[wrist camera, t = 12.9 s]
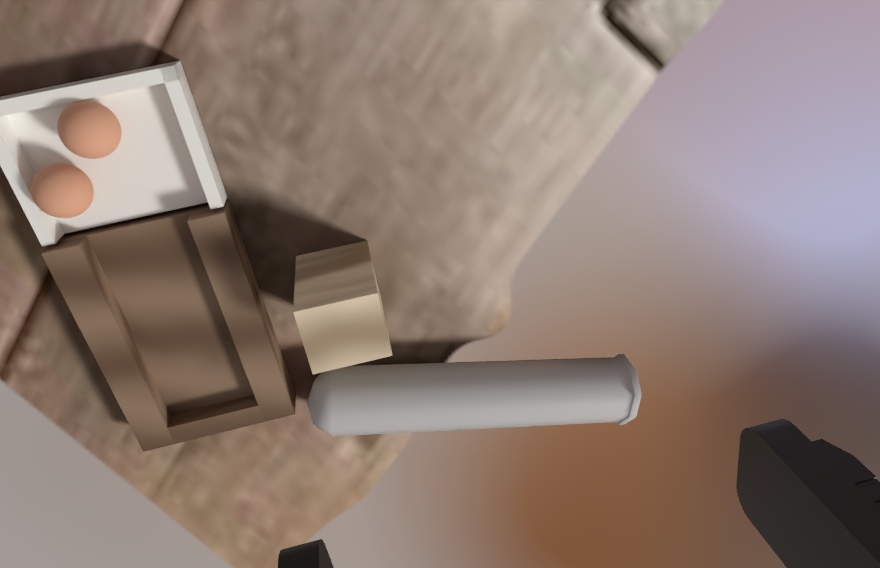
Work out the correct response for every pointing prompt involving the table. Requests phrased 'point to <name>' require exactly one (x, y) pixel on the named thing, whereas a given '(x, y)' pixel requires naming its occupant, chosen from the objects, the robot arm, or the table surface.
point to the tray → (131, 164)
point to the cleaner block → (339, 308)
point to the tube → (473, 395)
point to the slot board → (175, 323)
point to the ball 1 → (89, 129)
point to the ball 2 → (62, 190)
